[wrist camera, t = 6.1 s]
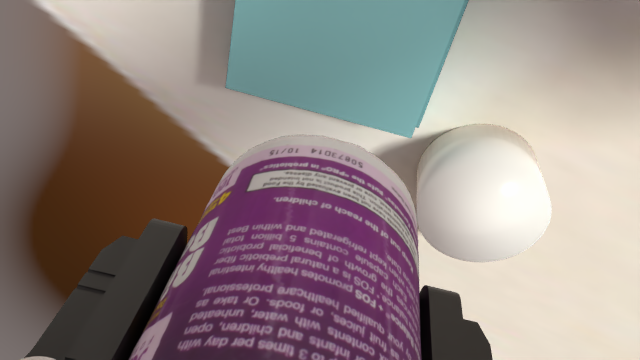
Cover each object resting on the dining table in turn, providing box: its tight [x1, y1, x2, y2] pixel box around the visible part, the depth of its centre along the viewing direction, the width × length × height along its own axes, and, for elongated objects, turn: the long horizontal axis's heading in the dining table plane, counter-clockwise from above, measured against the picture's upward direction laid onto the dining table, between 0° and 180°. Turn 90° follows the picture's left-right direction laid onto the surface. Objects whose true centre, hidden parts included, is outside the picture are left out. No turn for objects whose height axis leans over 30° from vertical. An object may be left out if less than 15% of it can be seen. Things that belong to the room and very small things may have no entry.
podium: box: [226, 0, 469, 138], centre depth 25 cm, size 11×11×3 cm
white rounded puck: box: [417, 124, 552, 262], centre depth 29 cm, size 7×7×4 cm
